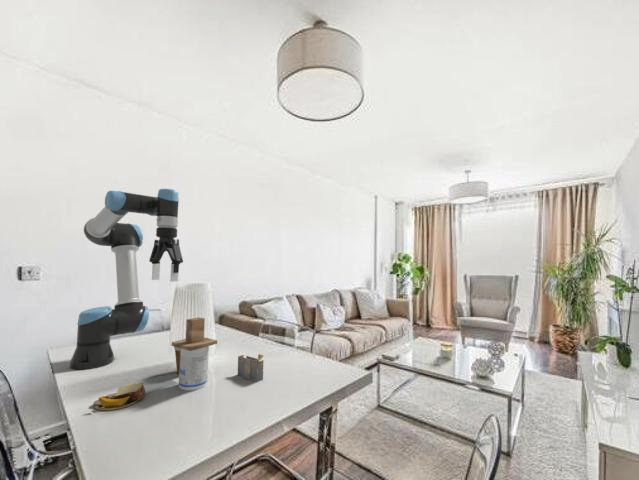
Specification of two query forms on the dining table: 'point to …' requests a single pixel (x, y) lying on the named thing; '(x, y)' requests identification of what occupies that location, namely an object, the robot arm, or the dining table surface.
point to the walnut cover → (194, 336)
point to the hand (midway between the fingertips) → (164, 280)
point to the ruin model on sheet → (250, 367)
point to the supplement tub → (193, 369)
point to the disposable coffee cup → (177, 358)
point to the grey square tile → (157, 384)
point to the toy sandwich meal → (121, 397)
